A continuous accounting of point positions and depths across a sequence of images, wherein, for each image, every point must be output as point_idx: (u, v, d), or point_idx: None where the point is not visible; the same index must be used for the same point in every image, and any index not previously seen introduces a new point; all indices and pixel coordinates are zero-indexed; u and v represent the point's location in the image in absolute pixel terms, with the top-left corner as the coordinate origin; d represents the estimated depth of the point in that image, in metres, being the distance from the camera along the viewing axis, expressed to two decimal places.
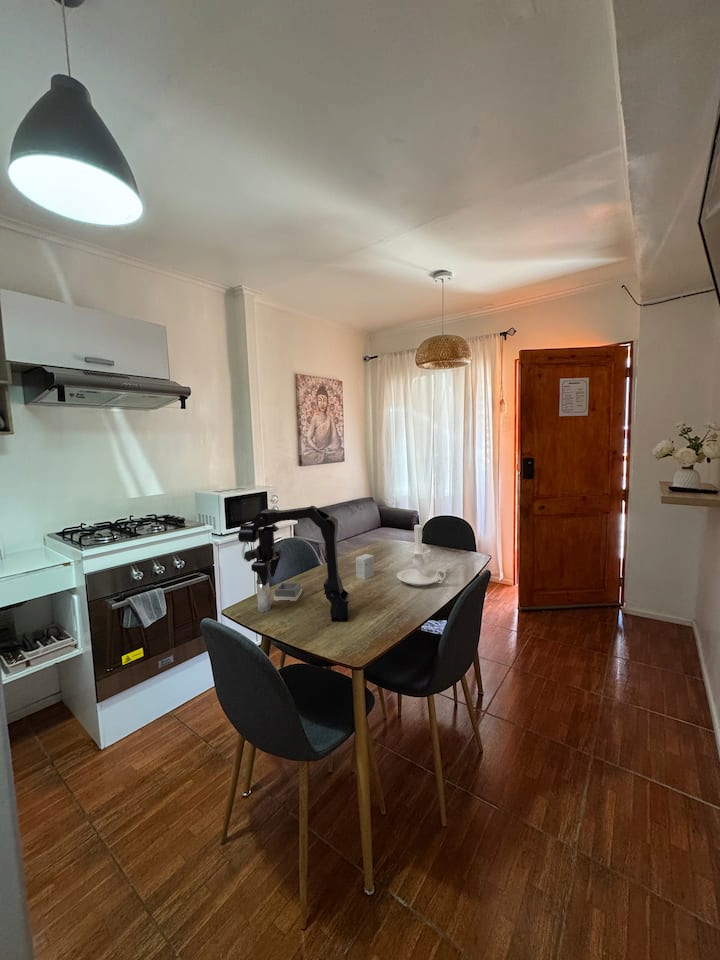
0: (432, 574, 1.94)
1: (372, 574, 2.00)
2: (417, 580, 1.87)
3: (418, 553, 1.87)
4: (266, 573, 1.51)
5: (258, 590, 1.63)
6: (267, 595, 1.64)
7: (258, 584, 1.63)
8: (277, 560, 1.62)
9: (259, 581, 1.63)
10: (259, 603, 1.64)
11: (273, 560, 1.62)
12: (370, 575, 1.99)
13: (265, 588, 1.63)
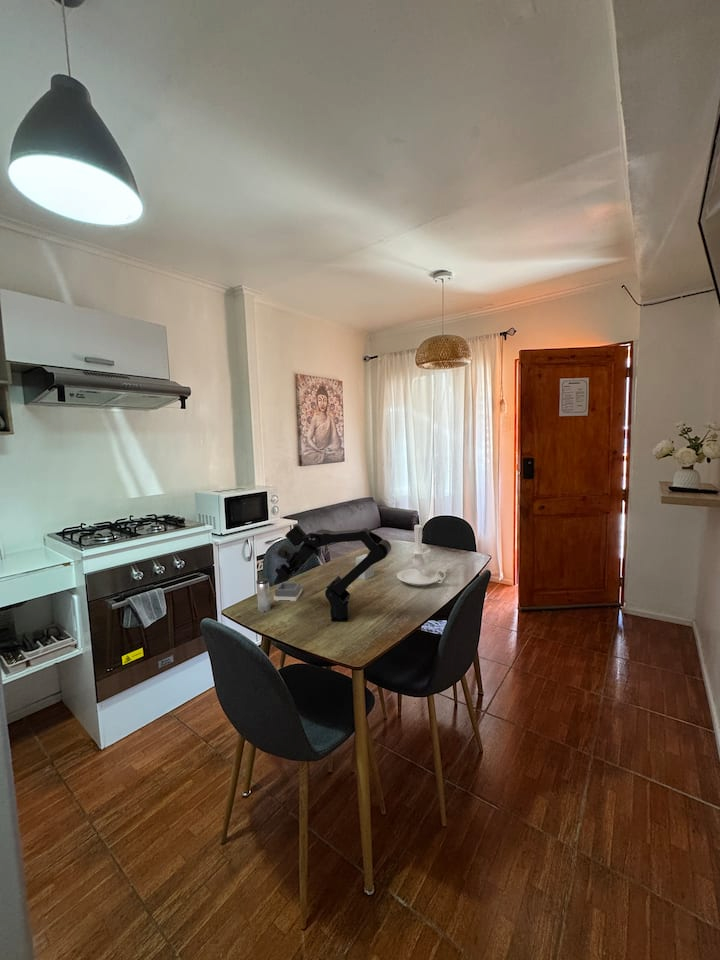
0: (432, 574, 1.94)
1: (372, 574, 2.00)
2: (417, 580, 1.87)
3: (418, 553, 1.87)
4: (283, 580, 1.54)
5: (258, 590, 1.63)
6: (267, 595, 1.64)
7: (258, 584, 1.63)
8: None
9: (259, 581, 1.63)
10: (259, 603, 1.64)
11: None
12: (370, 575, 1.99)
13: (265, 588, 1.63)
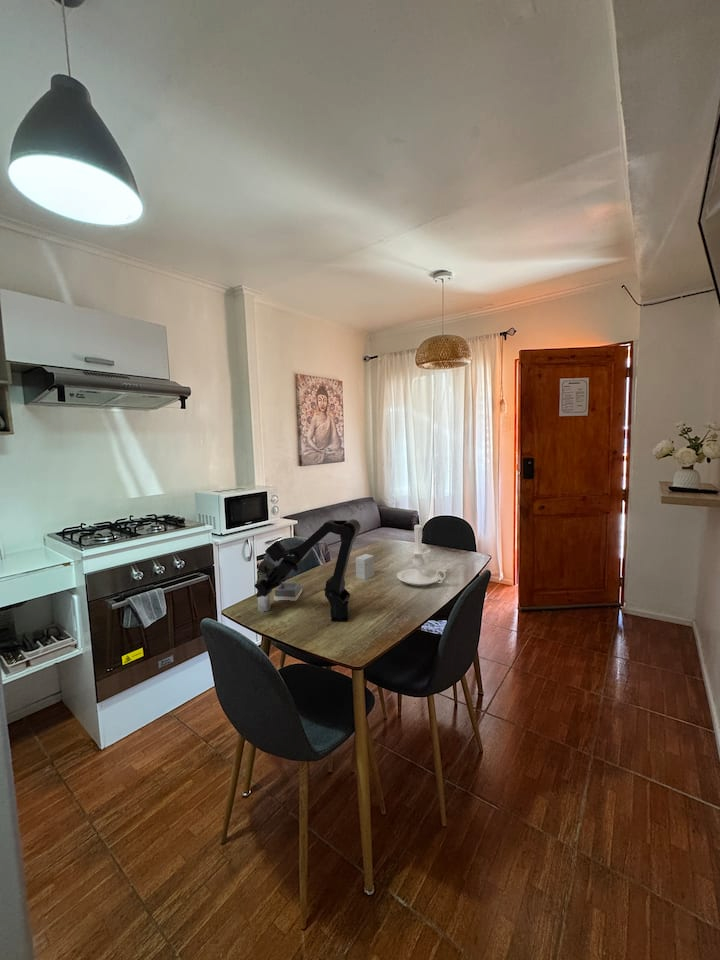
0: (432, 574, 1.94)
1: (372, 574, 2.00)
2: (417, 580, 1.87)
3: (418, 553, 1.87)
4: None
5: None
6: (267, 595, 1.64)
7: None
8: None
9: None
10: (259, 603, 1.64)
11: None
12: (370, 575, 1.99)
13: None
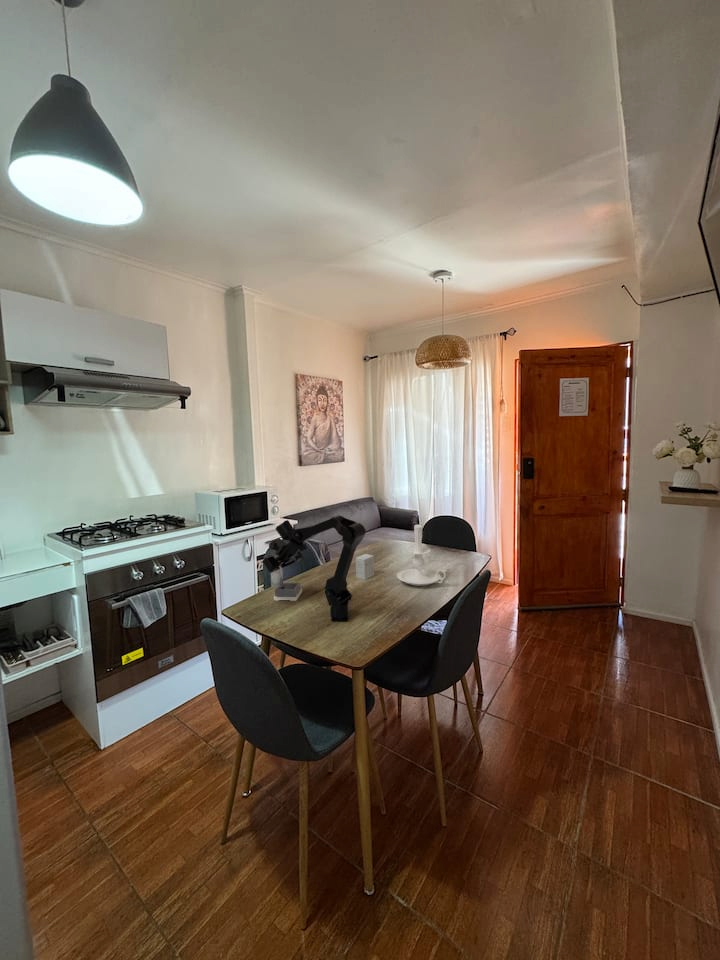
0: (432, 574, 1.94)
1: (372, 574, 2.00)
2: (417, 580, 1.87)
3: (418, 553, 1.87)
4: None
5: None
6: (278, 572, 1.71)
7: None
8: (289, 563, 1.73)
9: None
10: (271, 579, 1.72)
11: None
12: (370, 575, 1.99)
13: None
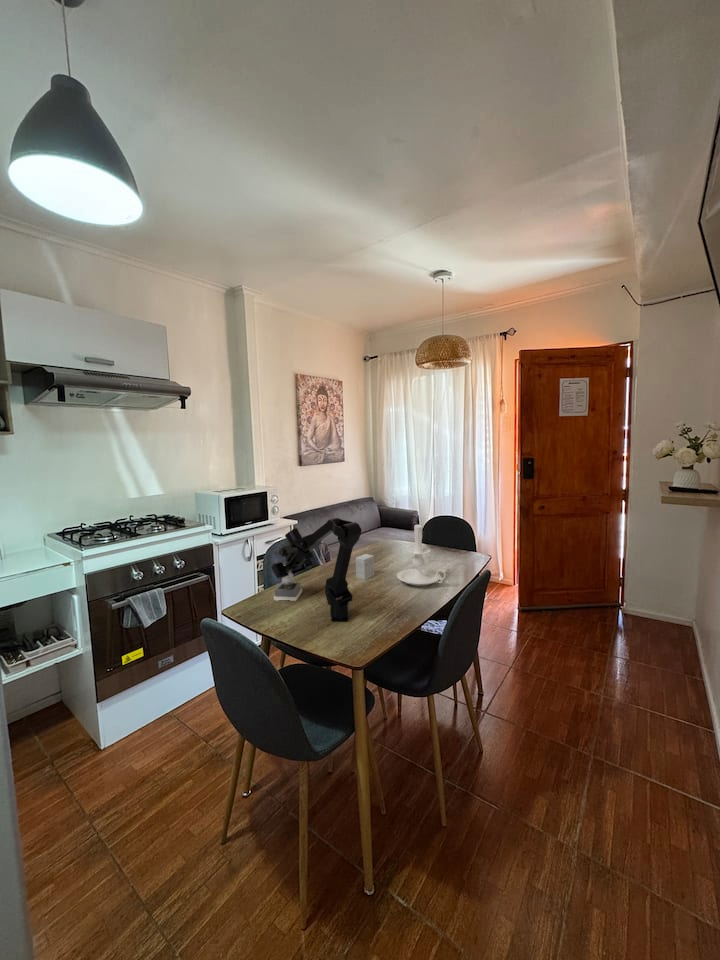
0: (432, 574, 1.94)
1: (372, 574, 2.00)
2: (417, 580, 1.87)
3: (418, 553, 1.87)
4: None
5: None
6: (288, 578, 1.76)
7: None
8: (299, 569, 1.77)
9: (283, 563, 1.77)
10: (282, 584, 1.77)
11: None
12: (370, 575, 1.99)
13: None
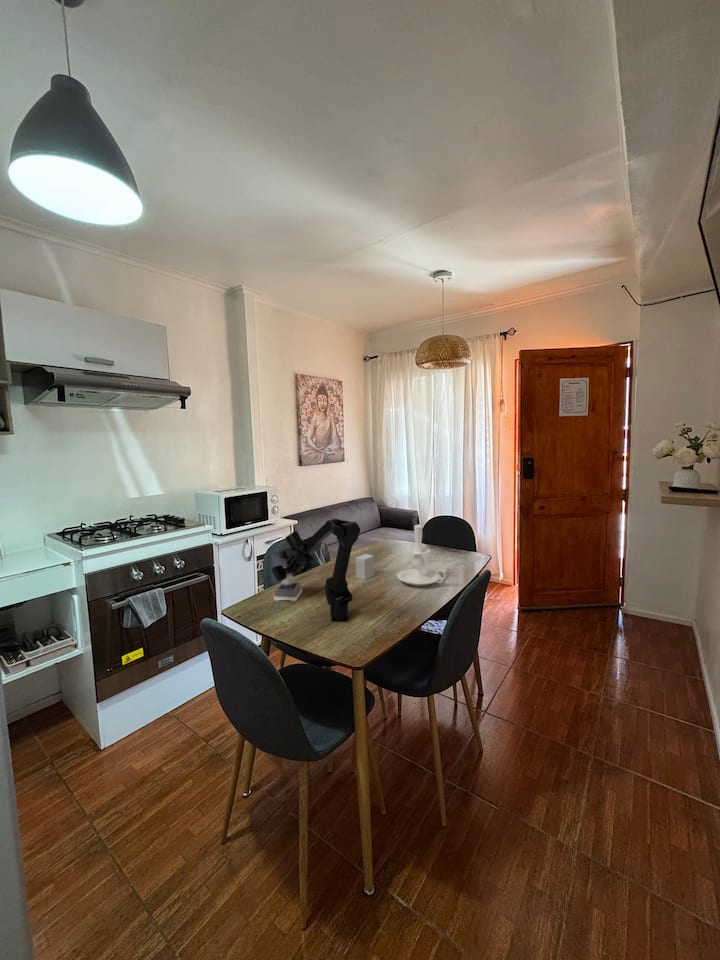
0: (432, 574, 1.94)
1: (372, 574, 2.00)
2: (417, 580, 1.87)
3: (418, 553, 1.87)
4: None
5: None
6: (289, 580, 1.76)
7: None
8: (303, 571, 1.78)
9: (283, 566, 1.77)
10: (282, 586, 1.77)
11: (301, 568, 1.79)
12: (370, 575, 1.99)
13: None
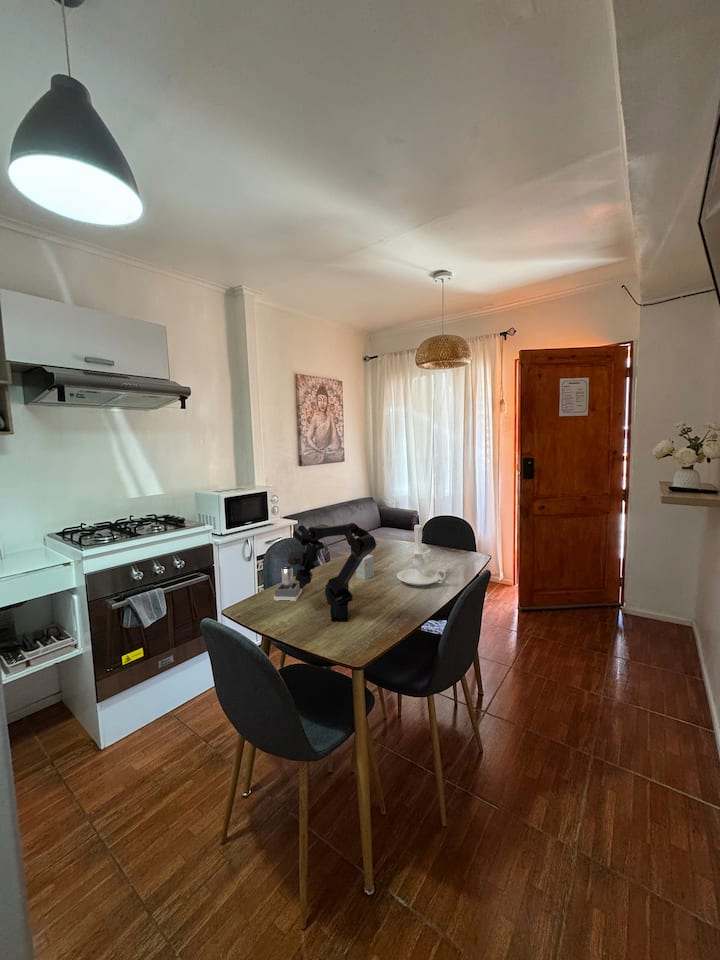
0: (432, 574, 1.94)
1: (372, 574, 2.00)
2: (417, 580, 1.87)
3: (418, 553, 1.87)
4: None
5: (281, 573, 1.77)
6: (289, 580, 1.76)
7: (281, 568, 1.76)
8: None
9: (283, 566, 1.77)
10: (282, 586, 1.77)
11: None
12: (370, 575, 1.99)
13: (287, 573, 1.75)
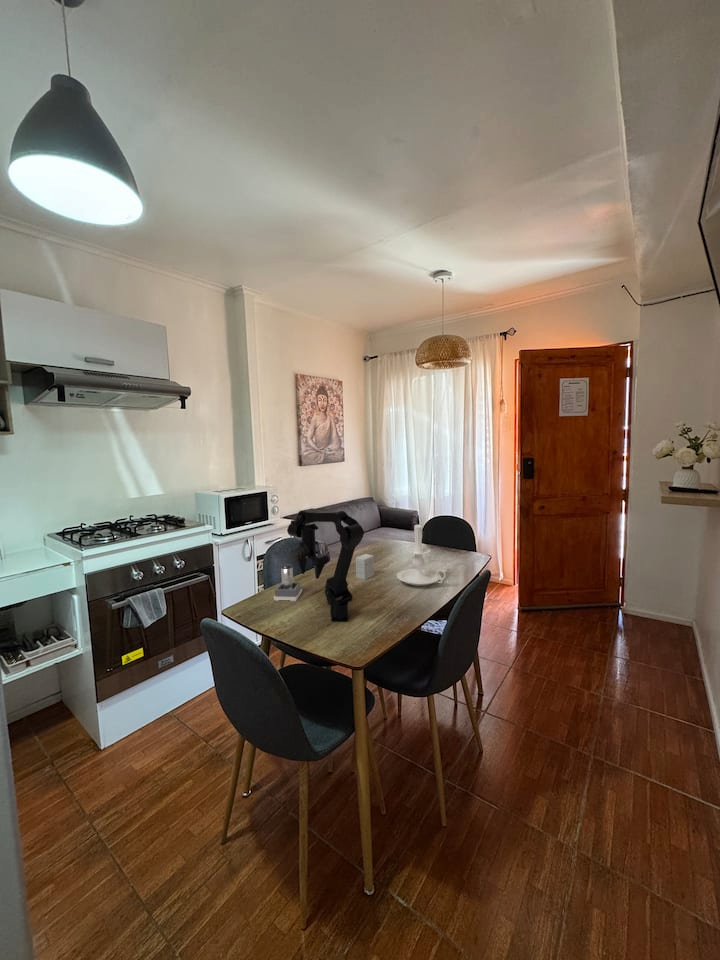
0: (432, 574, 1.94)
1: (372, 574, 2.00)
2: (417, 580, 1.87)
3: (418, 553, 1.87)
4: (322, 565, 1.62)
5: (281, 574, 1.77)
6: (288, 580, 1.76)
7: (281, 568, 1.76)
8: (305, 557, 1.71)
9: (283, 566, 1.77)
10: (282, 586, 1.77)
11: None
12: (370, 575, 1.99)
13: (287, 572, 1.75)
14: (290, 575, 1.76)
